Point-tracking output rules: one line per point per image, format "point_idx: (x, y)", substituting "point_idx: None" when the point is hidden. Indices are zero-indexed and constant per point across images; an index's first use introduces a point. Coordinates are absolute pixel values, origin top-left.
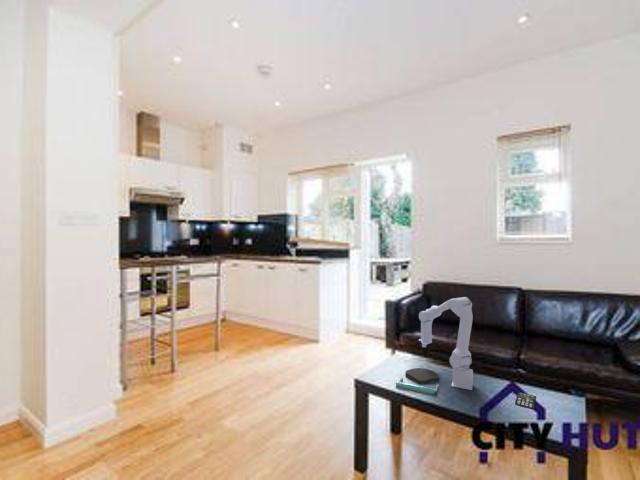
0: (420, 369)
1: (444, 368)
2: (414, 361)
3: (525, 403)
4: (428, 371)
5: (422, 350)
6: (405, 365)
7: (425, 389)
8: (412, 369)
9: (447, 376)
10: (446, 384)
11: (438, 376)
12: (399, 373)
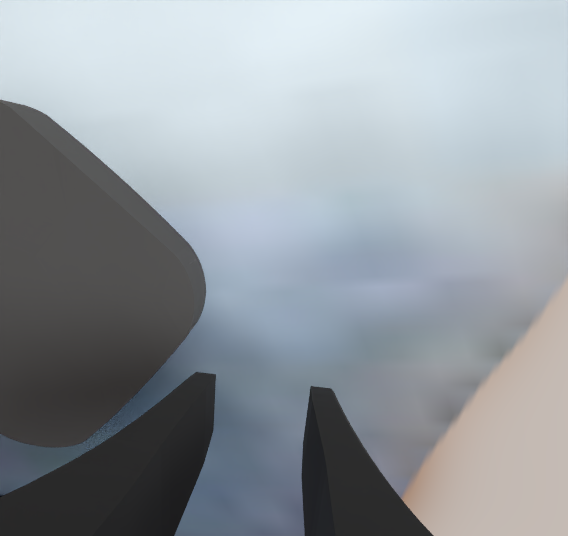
0: (107, 275)
1: None
2: (525, 155)
3: None
4: (84, 362)
5: (77, 463)
6: (330, 48)
7: None
8: (58, 178)
9: None
10: (16, 466)
11: (40, 441)
12: (20, 14)
